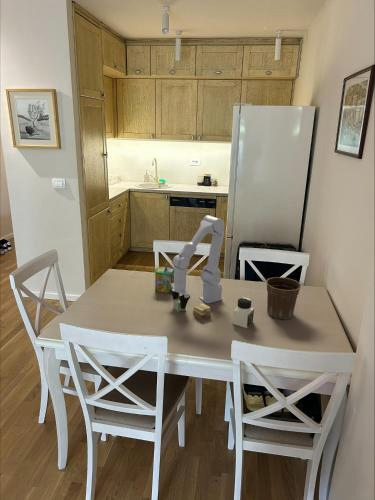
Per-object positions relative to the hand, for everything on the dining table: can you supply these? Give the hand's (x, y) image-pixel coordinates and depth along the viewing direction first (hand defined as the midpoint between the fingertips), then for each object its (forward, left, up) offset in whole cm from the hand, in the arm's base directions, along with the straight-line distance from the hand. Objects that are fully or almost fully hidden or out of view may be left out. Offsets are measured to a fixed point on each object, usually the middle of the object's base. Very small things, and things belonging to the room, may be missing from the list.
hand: (179, 305), depth 180 cm
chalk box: (-4, -24, -2) cm, 24 cm away
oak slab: (-6, +11, 0) cm, 13 cm away
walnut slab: (-6, +11, -2) cm, 13 cm away
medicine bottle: (-19, +26, -2) cm, 32 cm away
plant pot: (-41, +27, -2) cm, 49 cm away
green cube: (0, 0, -2) cm, 2 cm away
